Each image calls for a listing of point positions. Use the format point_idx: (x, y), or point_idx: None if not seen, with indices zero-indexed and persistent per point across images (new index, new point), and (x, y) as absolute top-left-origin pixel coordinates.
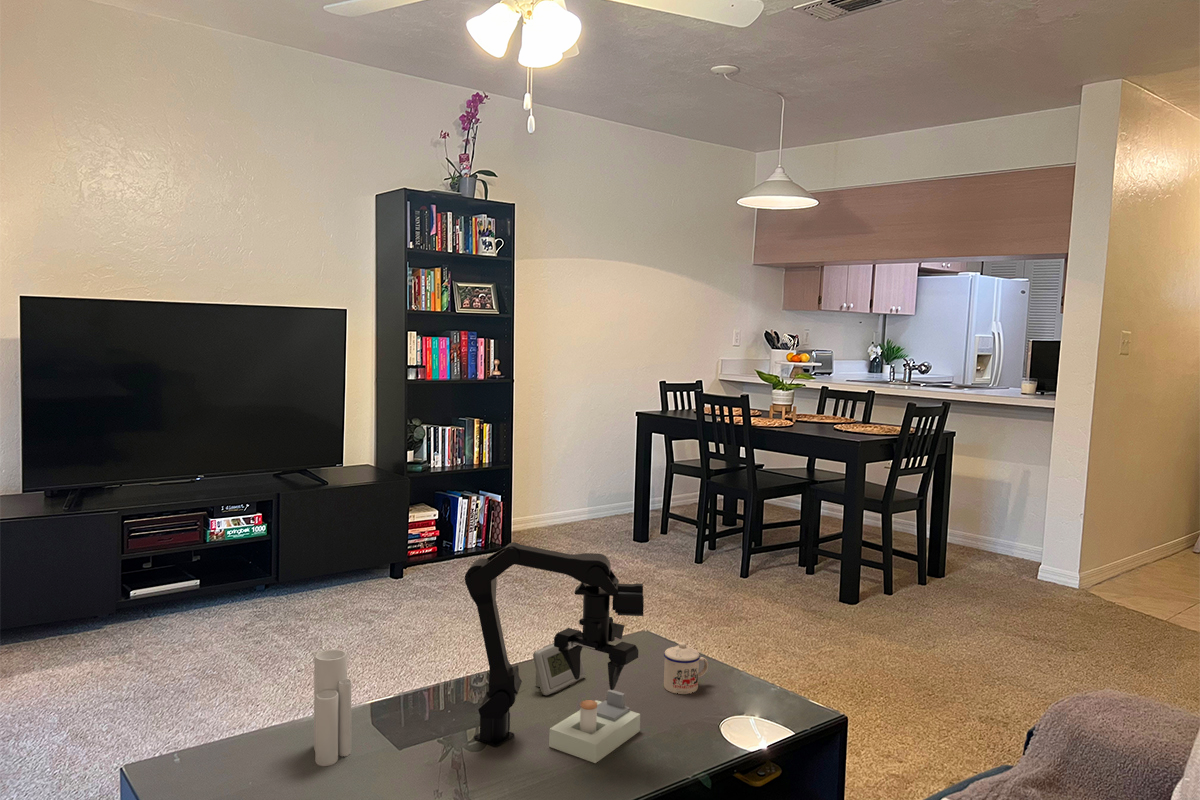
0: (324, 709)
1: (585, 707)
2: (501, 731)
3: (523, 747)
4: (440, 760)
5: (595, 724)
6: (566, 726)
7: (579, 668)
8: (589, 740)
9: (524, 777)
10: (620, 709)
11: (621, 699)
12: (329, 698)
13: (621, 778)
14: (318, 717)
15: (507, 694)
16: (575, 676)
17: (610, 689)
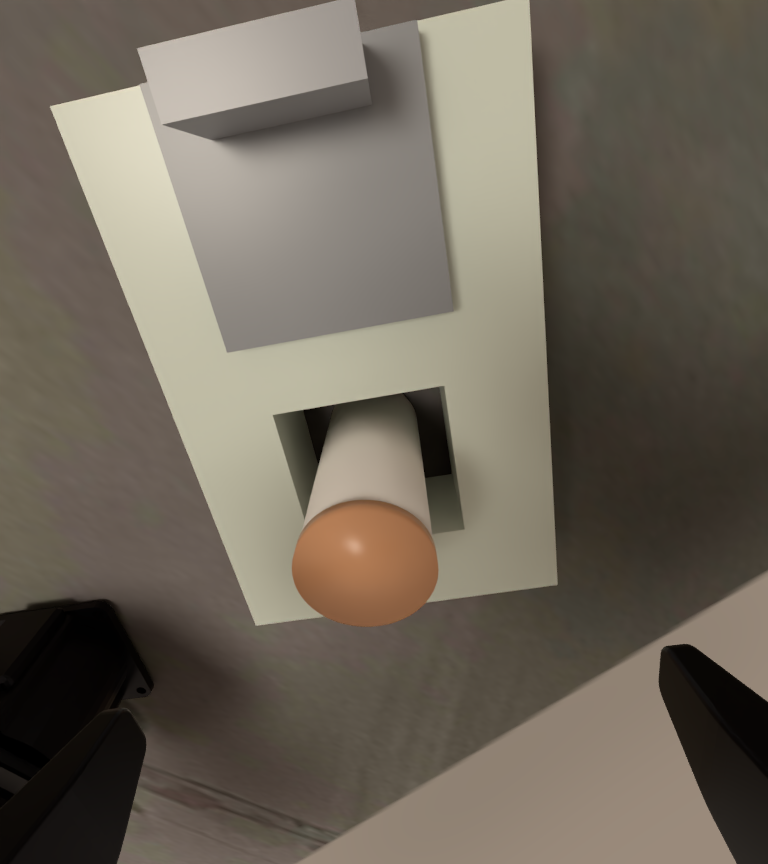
0: None
1: (392, 621)
2: (107, 701)
3: (215, 625)
4: (137, 809)
5: (423, 473)
6: (292, 559)
7: (36, 857)
8: (500, 577)
9: (399, 728)
10: (382, 136)
11: (364, 91)
12: None
13: (698, 530)
14: None
15: None
16: (128, 808)
17: (667, 698)
